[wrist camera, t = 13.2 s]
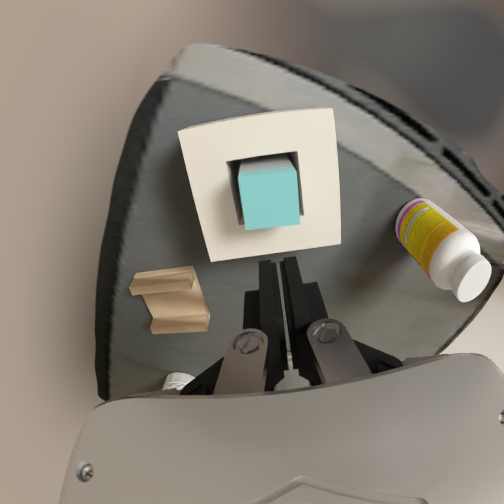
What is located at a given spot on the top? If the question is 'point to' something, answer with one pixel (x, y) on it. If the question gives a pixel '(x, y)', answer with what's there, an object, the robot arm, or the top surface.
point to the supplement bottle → (443, 249)
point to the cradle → (173, 300)
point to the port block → (258, 144)
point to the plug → (269, 191)
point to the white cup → (177, 380)
